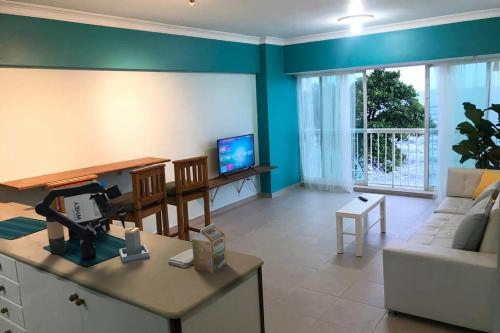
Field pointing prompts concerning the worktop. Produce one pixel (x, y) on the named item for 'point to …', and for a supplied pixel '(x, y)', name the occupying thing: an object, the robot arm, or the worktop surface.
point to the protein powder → (83, 211)
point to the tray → (136, 256)
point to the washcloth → (182, 259)
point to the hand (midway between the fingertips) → (116, 232)
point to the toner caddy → (132, 241)
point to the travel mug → (55, 236)
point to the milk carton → (209, 249)
